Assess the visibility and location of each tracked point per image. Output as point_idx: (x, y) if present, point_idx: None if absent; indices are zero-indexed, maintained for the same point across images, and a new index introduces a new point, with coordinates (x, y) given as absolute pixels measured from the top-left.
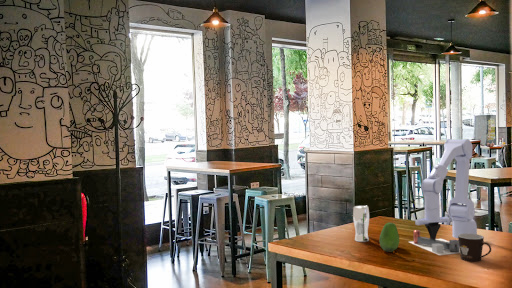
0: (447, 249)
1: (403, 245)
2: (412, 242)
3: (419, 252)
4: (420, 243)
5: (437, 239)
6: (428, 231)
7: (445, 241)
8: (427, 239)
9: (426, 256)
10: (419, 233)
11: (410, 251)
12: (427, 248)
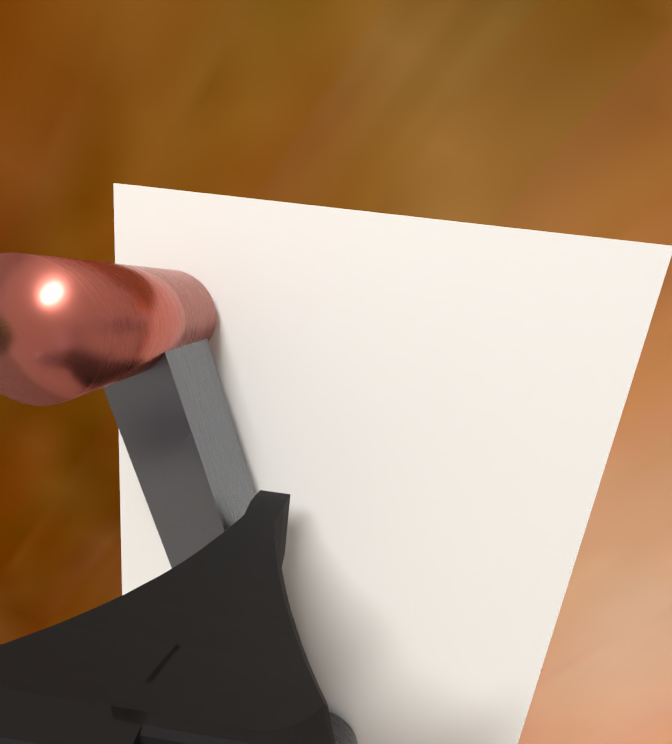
0: (315, 657)
1: (91, 170)
2: (151, 245)
3: (104, 489)
4: (214, 341)
5: (576, 267)
6: (175, 573)
7: (572, 410)
8: (165, 541)
9: (93, 605)
10: (96, 389)
11: (42, 422)
12: (157, 544)
